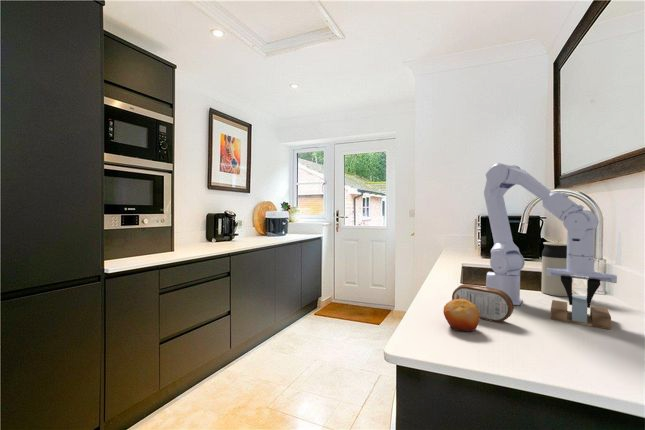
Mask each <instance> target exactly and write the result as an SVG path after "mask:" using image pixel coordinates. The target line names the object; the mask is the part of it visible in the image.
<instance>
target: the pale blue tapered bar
mask: <svg viewBox="0 0 645 430" xmlns="http://www.w3.org/2000/svg"><path fill="white" fill-rule="evenodd" d="M586 298H587V295H584V296H583V295H577V294H572V305H571V311H572V321H577V322H583V323H587V314H588V308H587V299H586Z"/></svg>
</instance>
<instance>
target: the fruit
mask: <svg viewBox="0 0 645 430" xmlns="http://www.w3.org/2000/svg"><path fill="white" fill-rule="evenodd" d="M442 311H443V317H444V318H445V320H446V322H447V323H448V325H449V327H450V328H451V329H452V330H454V331H463V332H466V331H467V332H472V331H473V332H474V330H476V329H477V328H478V325H479V322H480V319H481V318H480V313H479V311H478V308H477V306H476V305H474V304H473V303H471V302H470V301H468V300H467V299H454V300H452V299H451V300H449V301H447V302H446V303H445V305H444V306H443V310H442Z"/></svg>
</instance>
